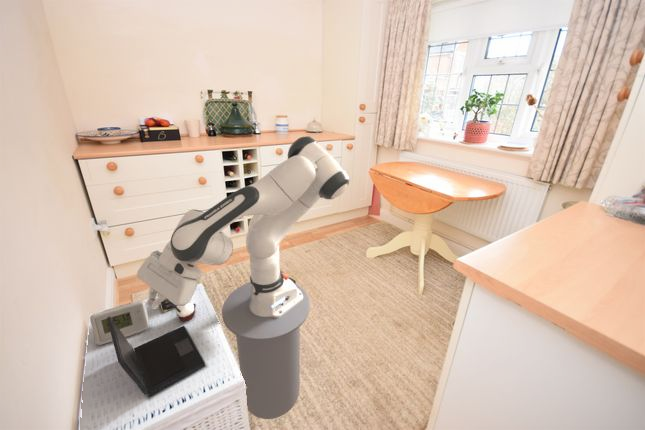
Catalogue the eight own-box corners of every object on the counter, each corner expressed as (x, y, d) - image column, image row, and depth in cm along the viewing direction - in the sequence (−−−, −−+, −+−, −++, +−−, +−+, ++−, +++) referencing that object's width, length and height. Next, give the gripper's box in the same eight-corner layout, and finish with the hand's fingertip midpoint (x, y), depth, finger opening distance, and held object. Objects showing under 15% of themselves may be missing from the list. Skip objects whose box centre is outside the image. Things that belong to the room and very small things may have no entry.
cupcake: (195, 308, 116) (190, 284, 111) (201, 317, 112) (197, 292, 107) (170, 320, 110) (164, 294, 106) (175, 329, 106) (169, 304, 101)
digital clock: (94, 348, 98) (85, 324, 93) (102, 328, 105) (94, 305, 101) (149, 336, 103) (142, 313, 99) (152, 318, 111) (147, 296, 106)
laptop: (184, 328, 107) (183, 325, 106) (205, 366, 93) (204, 362, 92) (134, 352, 97) (133, 347, 96) (149, 397, 83) (148, 393, 83)
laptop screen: (110, 316, 88) (106, 317, 88) (122, 360, 74) (118, 362, 74) (133, 348, 96) (130, 349, 96) (148, 393, 83) (144, 395, 82)
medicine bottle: (163, 312, 114) (156, 287, 109) (159, 302, 119) (153, 278, 114) (182, 305, 118) (177, 281, 113) (178, 295, 123) (173, 272, 118)
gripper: (145, 245, 86) (120, 289, 83) (190, 273, 77) (163, 323, 74) (163, 250, 91) (140, 291, 89) (206, 276, 82) (182, 323, 80)
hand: (151, 306), depth 82 cm, fingers closed
